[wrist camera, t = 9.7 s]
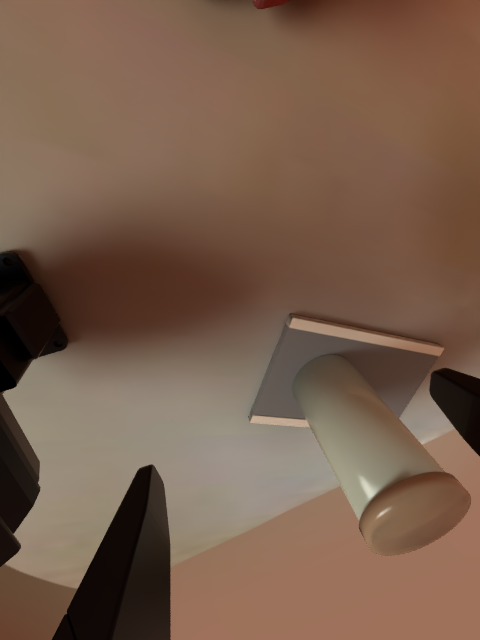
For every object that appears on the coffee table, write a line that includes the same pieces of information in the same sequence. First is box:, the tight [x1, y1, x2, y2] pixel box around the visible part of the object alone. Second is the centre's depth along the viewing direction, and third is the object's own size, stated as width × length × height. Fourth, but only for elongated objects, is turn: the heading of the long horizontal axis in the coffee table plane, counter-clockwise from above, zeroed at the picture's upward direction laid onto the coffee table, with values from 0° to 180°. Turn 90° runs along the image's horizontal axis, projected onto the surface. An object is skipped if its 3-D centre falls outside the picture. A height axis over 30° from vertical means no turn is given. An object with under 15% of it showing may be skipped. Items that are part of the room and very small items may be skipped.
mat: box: [248, 314, 445, 427], centre depth 27 cm, size 15×10×1 cm, turn 72°
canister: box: [292, 355, 471, 556], centre depth 21 cm, size 6×6×12 cm
